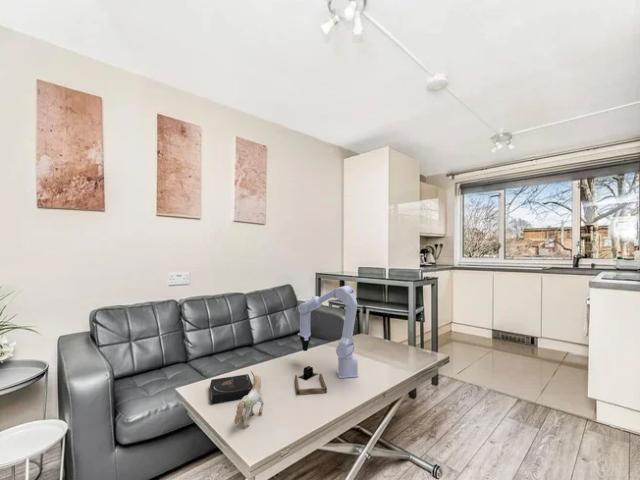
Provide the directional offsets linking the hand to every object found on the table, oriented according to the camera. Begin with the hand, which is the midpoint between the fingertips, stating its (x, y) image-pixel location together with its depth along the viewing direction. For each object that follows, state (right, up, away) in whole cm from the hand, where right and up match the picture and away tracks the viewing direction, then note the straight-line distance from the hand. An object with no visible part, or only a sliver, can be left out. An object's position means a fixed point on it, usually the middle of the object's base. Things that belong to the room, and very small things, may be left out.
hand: (305, 350), depth 161 cm
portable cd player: (-31, -8, -30) cm, 44 cm away
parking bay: (+3, -7, -24) cm, 25 cm away
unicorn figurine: (-20, -7, -50) cm, 54 cm away
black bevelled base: (+2, -9, -13) cm, 15 cm away
